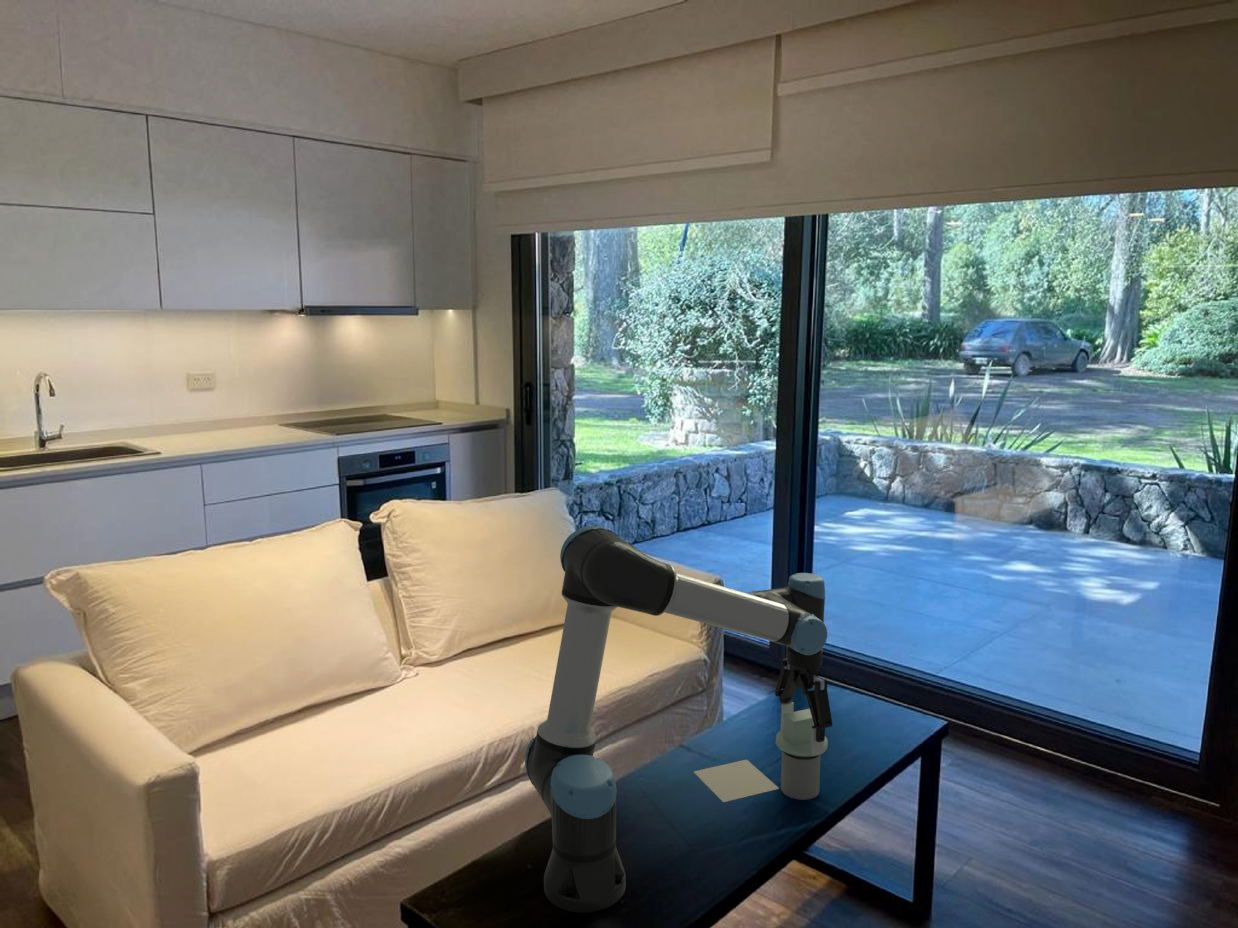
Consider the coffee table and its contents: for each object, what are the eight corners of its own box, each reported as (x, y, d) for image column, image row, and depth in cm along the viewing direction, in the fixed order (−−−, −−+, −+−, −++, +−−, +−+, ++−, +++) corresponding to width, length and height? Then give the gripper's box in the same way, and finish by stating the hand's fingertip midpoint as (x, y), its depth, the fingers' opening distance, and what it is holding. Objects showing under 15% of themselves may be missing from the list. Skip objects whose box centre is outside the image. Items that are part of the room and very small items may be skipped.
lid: (794, 760, 195) (795, 730, 194) (766, 737, 205) (767, 708, 204) (837, 750, 199) (839, 720, 198) (808, 728, 209) (809, 700, 208)
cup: (819, 804, 199) (820, 761, 197) (780, 800, 201) (781, 757, 199) (818, 784, 207) (820, 742, 206) (781, 780, 209) (782, 739, 207)
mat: (723, 805, 199) (723, 801, 199) (693, 774, 212) (693, 771, 212) (779, 791, 204) (779, 788, 204) (746, 762, 217) (746, 759, 217)
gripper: (853, 662, 189) (848, 762, 193) (789, 625, 210) (786, 716, 214) (822, 668, 186) (818, 770, 190) (760, 630, 207) (758, 722, 211)
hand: (801, 741), depth 202 cm, fingers closed on lid, 11 cm apart
